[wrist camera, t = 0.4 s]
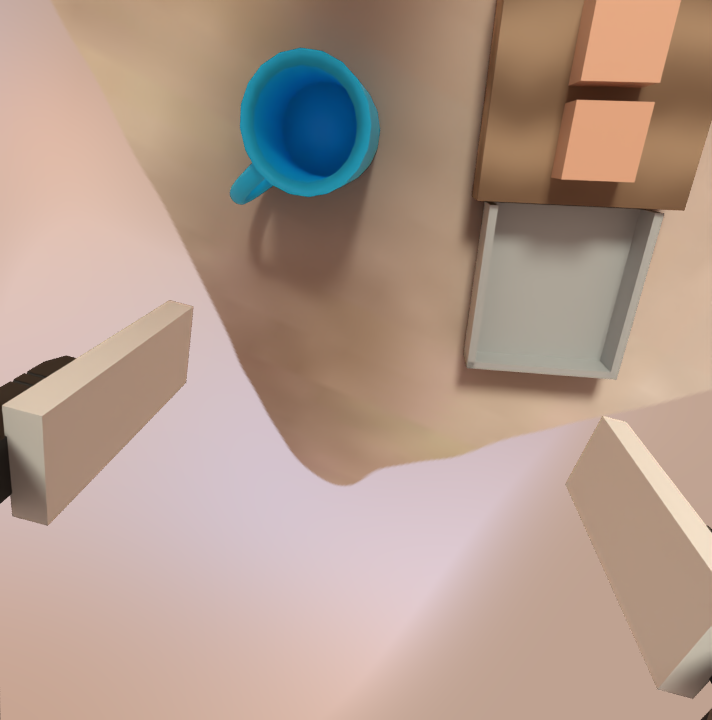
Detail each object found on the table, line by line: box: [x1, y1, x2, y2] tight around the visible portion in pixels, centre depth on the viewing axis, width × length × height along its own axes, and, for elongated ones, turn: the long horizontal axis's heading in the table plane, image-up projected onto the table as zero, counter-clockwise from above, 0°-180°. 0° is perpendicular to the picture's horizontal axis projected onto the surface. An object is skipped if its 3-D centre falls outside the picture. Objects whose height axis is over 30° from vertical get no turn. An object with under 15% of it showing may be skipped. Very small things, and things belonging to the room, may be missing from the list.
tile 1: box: [551, 100, 655, 182], centre depth 31 cm, size 4×4×2 cm
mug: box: [230, 48, 380, 205], centre depth 33 cm, size 12×8×8 cm
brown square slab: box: [472, 0, 712, 211], centre depth 32 cm, size 14×14×4 cm
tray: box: [463, 201, 664, 380], centre depth 38 cm, size 13×12×3 cm
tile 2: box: [568, 0, 681, 88], centre depth 28 cm, size 4×4×2 cm
